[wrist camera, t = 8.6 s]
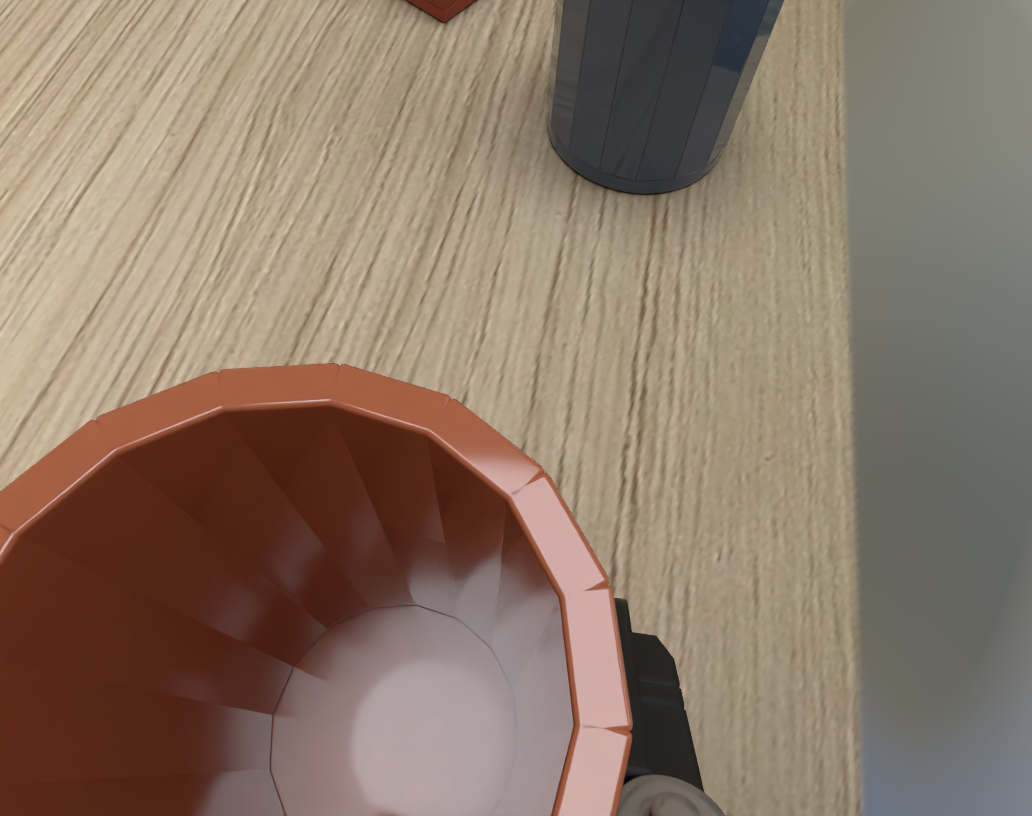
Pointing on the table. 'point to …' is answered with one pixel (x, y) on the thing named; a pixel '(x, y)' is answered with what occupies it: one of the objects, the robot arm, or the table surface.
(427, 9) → the rust tray
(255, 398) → the terracotta cup
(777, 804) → the table surface
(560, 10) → the slate cup
